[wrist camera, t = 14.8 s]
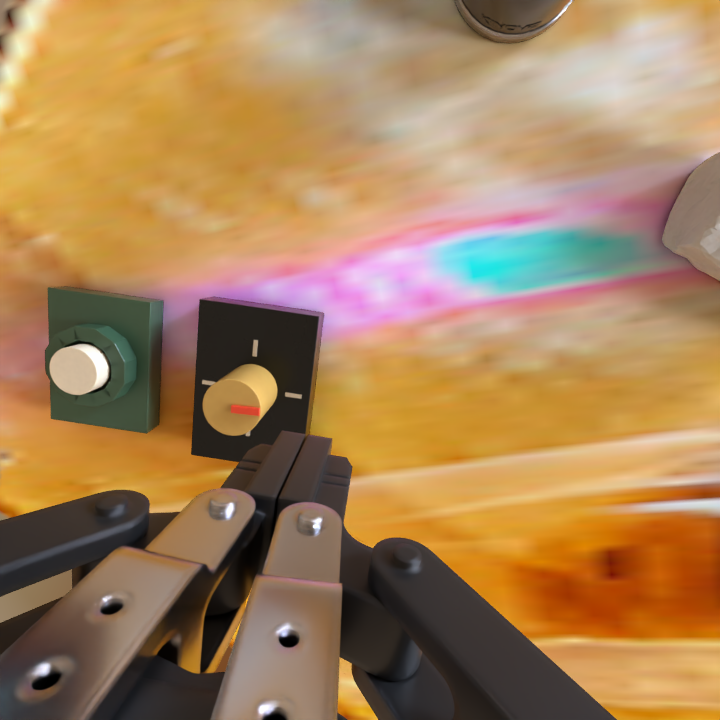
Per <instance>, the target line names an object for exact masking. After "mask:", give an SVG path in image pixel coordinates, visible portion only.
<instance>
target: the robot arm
mask: <svg viewBox="0 0 720 720" xmlns="http://www.w3.org/2000/svg"><path fill="white" fill-rule="evenodd" d="M571 2H572V0H455V3H456V6H457V8H458V10H459V12H460V14H461V16H462V17H463V19H464V20H465V21H466V23H467V24H468V25H469V26H470V27H471V28H472V29H473V30H474V31H476V32H477V33H478V34H480V35H482V36H483V37H485V38H487V39H490V40H493V41H496V42H502V43H516V42H522V41H526V40H529V39H532V38H534V37H536V36H538V35H540V34H541V33H543V32H545V31H546V30H547V29H549V28H550V27H551V26H552V25H553V24H554V23H556V21H557V20H558V19H559V18H560V17H561V16H562V15H563V13H564V12H565V11H566V9H567V8H568V6H569V5H570V4H571ZM573 2H574V1H573ZM331 447H332V439H331V438H325V437H319V436H313V435H308V436H307V435H306V434H301V433H295V432H289V431H283V430H282V431H281V433H280V434H279V436H278V438H277V439H276V441H275V442H274V444H273V445H267V444H259V445H257V446H255V447H253V448H252V449H250V450H248V451H247V453H246V454H245V455H244V457H243V458H242V461H240V462H239V464H238V465H237V466H236V468H235V469H234V470H233V472H232V473H231V474H230V476H229V477H228V478H227V480H226V481H225V482H224V484H223V485H222V486H221V488H220V489H213V490H209V491H206V492H203V493H201V494H199V495H198V496H196V497H195V498H194V499H193V500H192V501H191V502H190V503H189V504H188V505H187V506H186V507H185V508H184V509H183V510H182V511H181V512H172V513H149V506H150V503H149V500H148V498H147V497H146V496H144V495H143V494H141V493H138V492H135V491H130V490H112V491H106V492H102V493H98V494H94V495H91V496H87V497H83V498H80V499H76V500H73V501H69V502H66V503H62V504H59V505H55V506H51V507H48V508H44V509H41V510H37V511H34V512H30V513H26V514H23V515H19V516H16V517H12V518H9V519H5V520H2V521H0V597H1V596H3V595H5V594H8V593H11V592H13V591H16V590H19V589H21V588H24V587H26V586H29V585H32V584H34V583H36V582H39V581H42V580H44V579H47V578H50V577H52V576H55V575H58V574H60V573H63V572H65V571H68V570H71V569H72V589H71V590H70V591H69V592H68V593H67V594H66V595H65V596H64V597H61V598H59V599H56V600H54V601H51V602H49V603H47V604H44V605H42V606H40V607H37V608H35V609H32V610H30V611H28V612H25V613H23V614H21V615H18V616H16V617H13V618H11V619H9V620H6V621H4V622H2V623H0V720H347V719H346V718H344V717H343V716H341V715H340V714H339V713H337V707H338V682H339V657H341V658H343V659H345V660H347V661H348V662H350V663H352V675H353V678H354V681H355V682H356V684H357V686H358V688H359V689H360V691H361V692H362V694H363V696H364V697H365V699H366V700H367V702H368V704H369V705H370V707H371V708H372V710H373V711H374V713H375V715H376V716H377V718H378V719H379V720H617V719H615V718H614V717H613V716H612V715H611V714H610V713H609V712H608V711H607V710H606V709H604V708H603V707H602V706H601V705H600V704H599V703H598V702H597V701H596V700H595V699H593V698H592V697H591V696H590V695H589V694H588V693H587V692H586V691H585V690H584V689H582V688H581V687H580V686H579V685H578V684H577V683H576V682H575V681H574V680H573V679H571V678H570V677H569V676H568V675H567V674H566V673H565V672H564V671H563V670H562V669H560V668H559V667H558V666H557V665H556V664H555V663H554V662H553V661H552V660H551V659H549V658H548V657H547V656H546V655H545V654H544V653H543V652H542V651H541V650H540V649H538V648H537V647H536V646H535V645H534V644H533V643H532V642H531V641H530V640H529V639H527V638H526V637H525V636H524V635H523V634H522V633H521V632H520V631H519V630H518V629H516V628H515V627H514V626H513V625H512V624H511V623H510V622H509V621H508V620H507V619H505V618H504V617H503V616H502V615H501V614H500V613H499V612H498V611H497V610H496V609H494V608H493V607H492V606H491V605H490V604H489V603H488V602H487V601H486V600H485V599H483V598H482V597H481V596H480V595H479V594H478V593H477V592H476V591H475V590H474V589H472V588H471V587H470V586H469V585H468V584H467V583H466V582H465V581H464V580H463V579H461V578H460V577H459V576H458V575H457V574H456V573H455V572H454V571H453V570H452V569H450V568H449V567H448V566H447V565H446V564H445V563H444V562H443V561H442V560H441V559H439V558H438V557H437V556H436V555H435V554H434V553H433V552H432V551H431V550H429V549H428V548H427V547H425V546H424V545H422V544H420V543H418V542H416V541H413V540H410V539H406V538H388V539H384V540H382V541H380V542H379V543H377V544H376V545H375V546H374V548H371V547H368V546H366V545H364V544H362V543H360V542H358V541H357V540H355V539H354V538H353V537H352V536H351V535H350V534H349V533H348V532H347V530H346V529H345V527H344V523H343V522H344V516H345V510H346V504H347V497H348V491H349V485H350V479H351V472H352V466H351V464H350V463H349V461H348V459H347V458H346V457H340V456H334V455H330V454H331ZM250 590H251V592H250ZM249 593H250V595H249ZM248 595H249V598H248V601H247V604H246V599H247V597H248ZM245 605H246V607H245ZM241 619H242V620H241ZM240 621H241V623H240ZM239 623H240V627H239V630H238V633H237V636H236V639H235V643H234V646H233V649H232V652H231V655H230V658H229V662H228V665H227V668H226V671H225V672H218V673H215V671H216V669H217V667H218V665H219V663H220V661H221V659H222V657H223V655H224V653H225V651H226V649H227V647H228V645H229V643H230V641H231V639H232V637H233V635H234V633H235V631H236V629H237V627H238V625H239Z"/></svg>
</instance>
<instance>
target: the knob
mask: <svg viewBox="0 0 720 720" xmlns="http://www.w3.org/2000/svg"><path fill="white" fill-rule="evenodd" d="M276 397H277V385H276V381H275V379H274V377H273V376H272V375H271V373H270V372H269V371H267V370H266V369H265V368H263V367H261V366H258V365H254V364H246V365H242V366H239V367H237V368H236V369H234V370H233V371H232V372H230V373H229V374H227V375H226V376H224V377H223V378H221V379H220V380H219V381H217V382H216V383H214V384H213V385H211V386H210V387H209V389H208V390H207V391H206V393H205V395H204V398H203V412H204V415H205V418H206V419H207V421H208V423H209V424H210V425H211V426H212V427H213V428H214V429H216V430H217V431H219V432H221V433H223V434H226V435H231V436H237V435H243V434H245V433H247V432H249V431H251V430H252V429H253V428H254V427H255V426H256V425H257V423H258V422H259V421H260V420H261V418H262V417H263V416H264V415H265V413H266V412H267V411H268V410H269V408H270V407H271V406H272V405H273V403H274V402H275V400H276Z"/></svg>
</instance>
